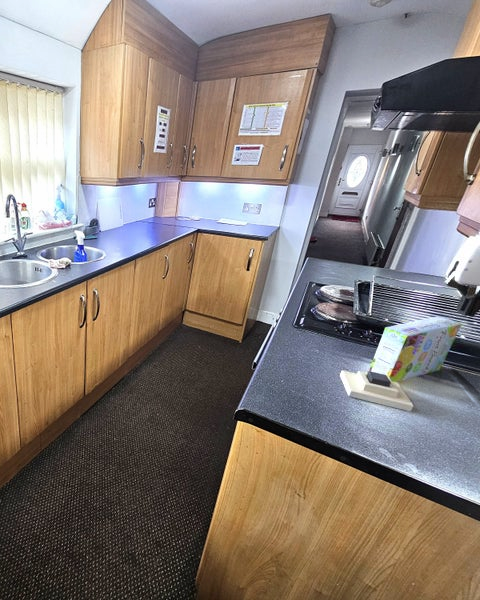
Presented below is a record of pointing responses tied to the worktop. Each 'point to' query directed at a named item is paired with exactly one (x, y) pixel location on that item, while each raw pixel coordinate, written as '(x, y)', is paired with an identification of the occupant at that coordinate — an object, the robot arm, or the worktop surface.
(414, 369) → the snack box
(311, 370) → the worktop surface
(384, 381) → the dark grey square block
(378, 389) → the cream stepped base
